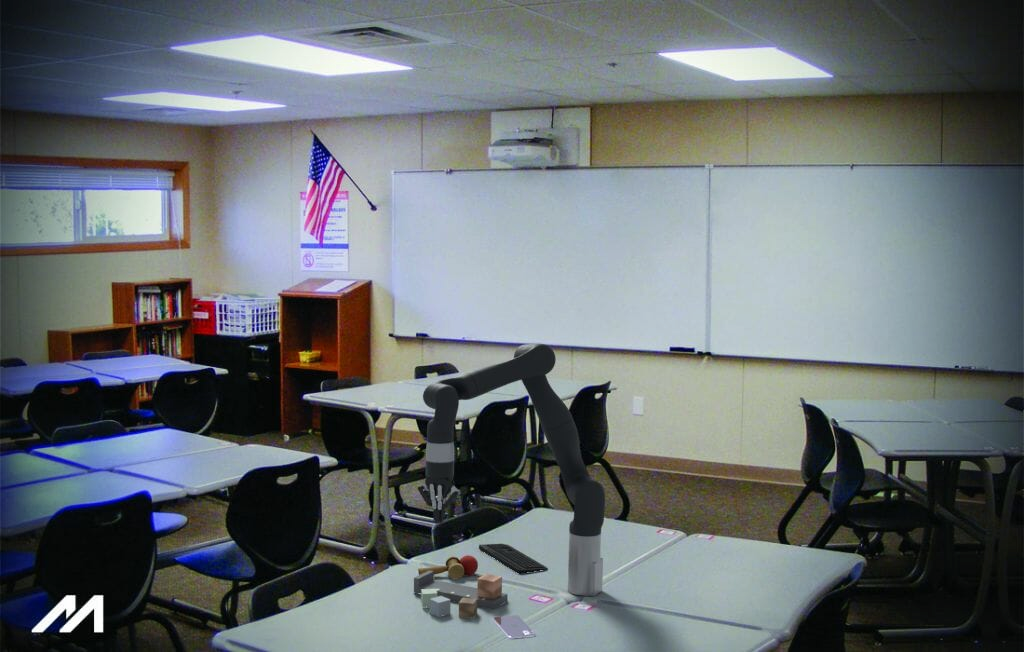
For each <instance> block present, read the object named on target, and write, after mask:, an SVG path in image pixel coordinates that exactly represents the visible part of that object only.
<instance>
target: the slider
mask: <svg viewBox="0 0 1024 652" xmlns="http://www.w3.org/2000/svg"><path fill="white" fill-rule="evenodd" d="M476 588H477V596H478V597H483V598H488V599H495V598H496V597H498V596H500V595H501V594H502V593H503V576H500V575H496V574H491V573H490V574H489V573H485V574H483V575H482V576H480V577H477V587H476Z"/></svg>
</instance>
